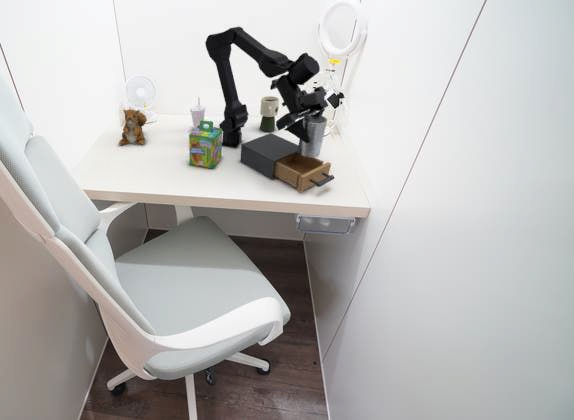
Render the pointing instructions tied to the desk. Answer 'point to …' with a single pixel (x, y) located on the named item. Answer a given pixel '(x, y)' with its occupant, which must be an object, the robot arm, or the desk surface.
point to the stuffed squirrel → (133, 127)
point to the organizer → (266, 153)
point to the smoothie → (197, 114)
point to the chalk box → (205, 145)
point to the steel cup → (312, 135)
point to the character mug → (269, 112)
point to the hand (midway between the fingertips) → (315, 139)
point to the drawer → (303, 171)
